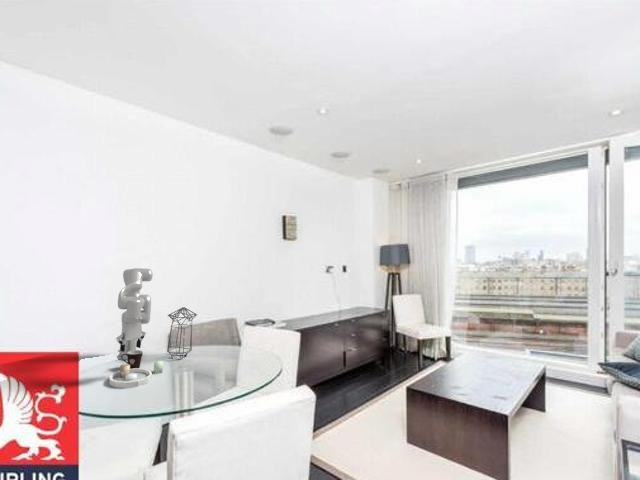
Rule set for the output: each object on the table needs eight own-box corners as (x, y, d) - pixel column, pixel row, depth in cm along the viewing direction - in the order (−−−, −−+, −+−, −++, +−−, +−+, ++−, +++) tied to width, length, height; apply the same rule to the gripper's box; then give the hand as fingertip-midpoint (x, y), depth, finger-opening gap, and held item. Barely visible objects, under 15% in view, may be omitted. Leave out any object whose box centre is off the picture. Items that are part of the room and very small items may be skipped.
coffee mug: (144, 367, 216) (146, 351, 216) (133, 371, 208) (134, 355, 208) (130, 364, 220) (132, 348, 220) (119, 368, 212) (120, 352, 212)
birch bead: (117, 376, 197) (118, 365, 197) (125, 373, 202) (126, 363, 202) (122, 378, 195) (123, 367, 195) (131, 375, 199) (131, 365, 199)
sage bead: (151, 372, 209) (152, 362, 209) (158, 370, 213) (159, 360, 213) (157, 374, 207) (157, 364, 207) (164, 372, 211) (165, 362, 211)
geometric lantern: (162, 358, 233) (166, 307, 235) (176, 352, 249) (180, 304, 251) (182, 361, 230) (186, 309, 232) (195, 355, 245) (199, 306, 247)
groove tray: (101, 381, 191) (101, 376, 191) (136, 370, 209) (136, 365, 210) (124, 391, 181) (124, 385, 181) (158, 379, 200) (159, 373, 200)
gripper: (142, 317, 210) (140, 344, 209) (114, 321, 195) (111, 351, 194) (150, 319, 206) (148, 347, 206) (122, 323, 191) (119, 354, 191)
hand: (130, 349), depth 200 cm, fingers open, 9 cm apart
